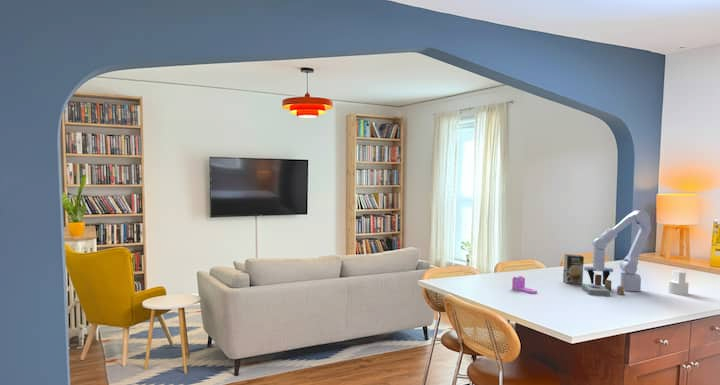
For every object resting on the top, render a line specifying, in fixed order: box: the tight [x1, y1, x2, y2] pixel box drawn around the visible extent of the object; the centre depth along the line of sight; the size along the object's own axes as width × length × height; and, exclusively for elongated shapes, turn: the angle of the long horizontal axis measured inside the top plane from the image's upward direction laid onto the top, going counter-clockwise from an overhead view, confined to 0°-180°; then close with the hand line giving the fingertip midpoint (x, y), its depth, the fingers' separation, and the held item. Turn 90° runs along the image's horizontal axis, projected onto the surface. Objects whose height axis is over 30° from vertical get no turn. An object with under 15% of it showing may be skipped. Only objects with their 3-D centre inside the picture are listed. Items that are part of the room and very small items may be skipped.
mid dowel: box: [604, 279, 612, 292], centre depth 264 cm, size 3×3×6 cm
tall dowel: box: [594, 274, 603, 285], centre depth 271 cm, size 3×3×7 cm
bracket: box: [511, 275, 538, 295], centre depth 258 cm, size 13×6×7 cm, turn 33°
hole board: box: [581, 283, 611, 297], centre depth 259 cm, size 10×14×2 cm
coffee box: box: [562, 253, 585, 285], centre depth 282 cm, size 9×6×16 cm
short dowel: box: [616, 285, 625, 296], centre depth 256 cm, size 3×3×4 cm
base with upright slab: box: [667, 269, 689, 296], centre depth 262 cm, size 9×9×12 cm
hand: (597, 284), depth 271 cm, fingers open, 5 cm apart
